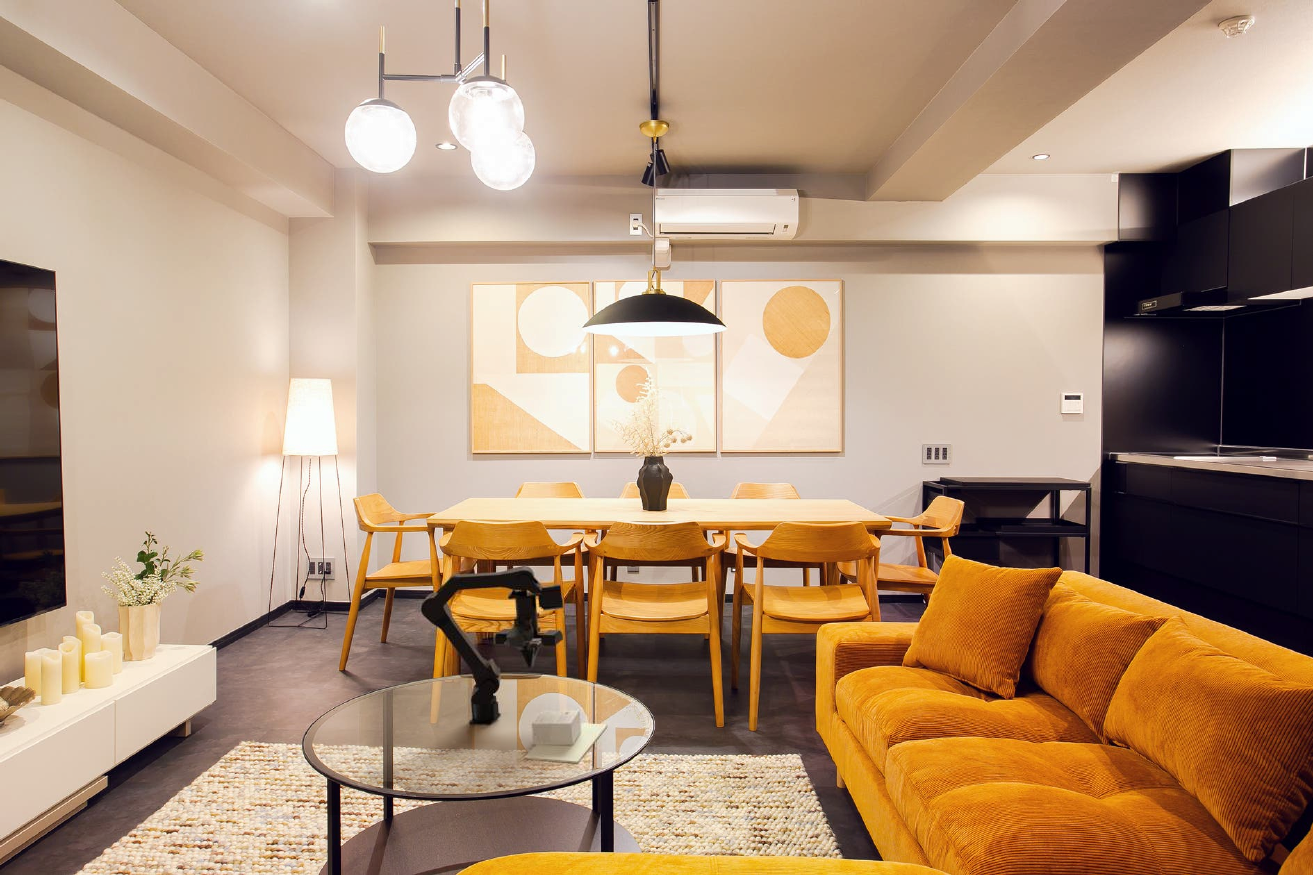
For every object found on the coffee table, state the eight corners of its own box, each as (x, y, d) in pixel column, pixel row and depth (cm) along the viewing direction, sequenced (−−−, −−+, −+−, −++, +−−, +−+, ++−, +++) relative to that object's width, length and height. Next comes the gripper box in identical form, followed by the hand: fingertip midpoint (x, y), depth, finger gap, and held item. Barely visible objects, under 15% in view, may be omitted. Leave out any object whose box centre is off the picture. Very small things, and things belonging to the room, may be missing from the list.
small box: (532, 745, 180) (572, 745, 178) (531, 723, 179) (571, 723, 177) (543, 730, 187) (581, 731, 185) (541, 709, 187) (580, 710, 185)
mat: (524, 758, 173) (524, 756, 173) (559, 722, 193) (559, 721, 193) (577, 763, 169) (577, 761, 169) (607, 726, 189) (607, 724, 189)
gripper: (482, 620, 194) (486, 676, 195) (544, 621, 189) (548, 679, 189) (502, 608, 205) (506, 662, 206) (561, 609, 200) (565, 664, 200)
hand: (530, 667), depth 200 cm, fingers closed
